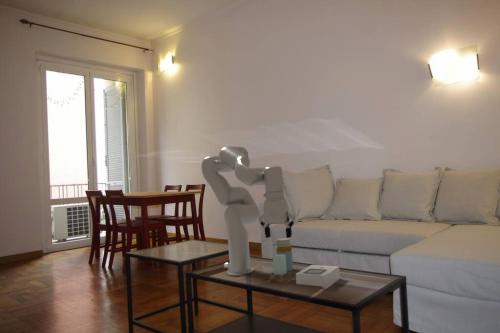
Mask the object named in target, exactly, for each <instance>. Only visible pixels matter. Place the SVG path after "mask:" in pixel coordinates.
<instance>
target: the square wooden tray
mask: <svg viewBox="0 0 500 333" xmlns="http://www.w3.org/2000/svg"><path fill="white" fill-rule="evenodd" d="M295 280H296V277H293V273H292V271H289V272H287V274H285V275H283V276H282V275H274V272H272V273H270V274H268V279H267V280H266V282H268V283H282V284H288V283H291V282H292V281H295Z"/></svg>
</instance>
